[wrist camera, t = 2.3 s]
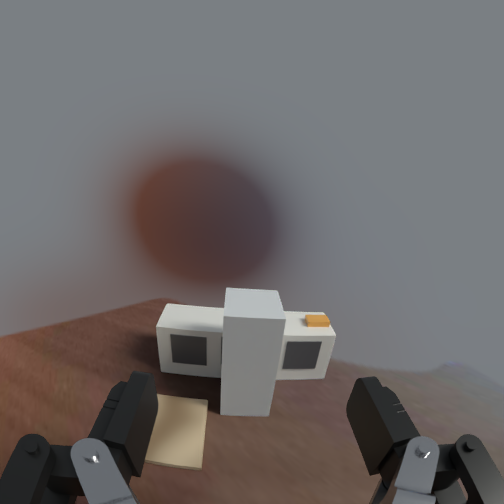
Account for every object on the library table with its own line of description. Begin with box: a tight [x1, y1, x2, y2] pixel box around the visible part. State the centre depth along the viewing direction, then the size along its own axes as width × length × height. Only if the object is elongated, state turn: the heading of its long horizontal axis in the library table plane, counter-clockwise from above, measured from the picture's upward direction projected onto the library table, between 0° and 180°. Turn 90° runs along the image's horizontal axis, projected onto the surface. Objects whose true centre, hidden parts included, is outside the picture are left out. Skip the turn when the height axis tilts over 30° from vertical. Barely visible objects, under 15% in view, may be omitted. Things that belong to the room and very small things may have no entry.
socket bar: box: [156, 304, 336, 380], centre depth 30 cm, size 18×5×7 cm, turn 92°
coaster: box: [144, 394, 208, 471], centre depth 20 cm, size 8×8×1 cm
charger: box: [220, 288, 286, 416], centre depth 25 cm, size 4×7×11 cm, turn 2°
